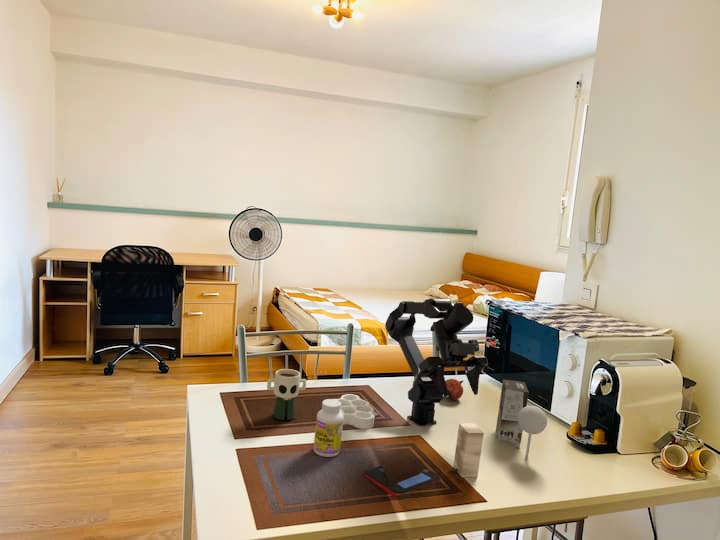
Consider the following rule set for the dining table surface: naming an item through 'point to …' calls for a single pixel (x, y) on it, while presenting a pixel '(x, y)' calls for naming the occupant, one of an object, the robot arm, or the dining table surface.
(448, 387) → the pomegranate
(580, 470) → the dining table surface
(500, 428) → the coffee box
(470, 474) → the white rectangular box
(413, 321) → the robot arm
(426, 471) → the game console
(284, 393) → the character mug
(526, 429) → the lollipop
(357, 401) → the white cup cluster
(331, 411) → the supplement bottle
